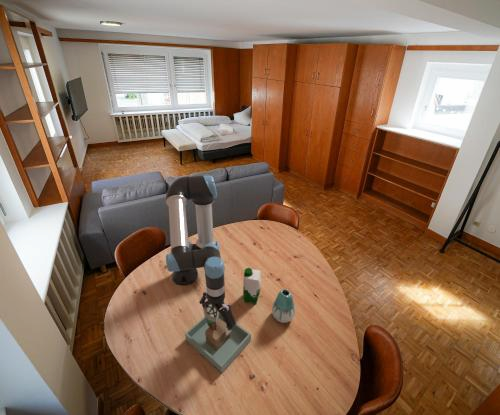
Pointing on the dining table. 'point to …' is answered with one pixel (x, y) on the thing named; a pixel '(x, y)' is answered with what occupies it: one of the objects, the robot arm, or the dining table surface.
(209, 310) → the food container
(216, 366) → the tote
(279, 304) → the vase
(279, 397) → the dining table surface
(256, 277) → the milk carton
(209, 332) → the walnut block
